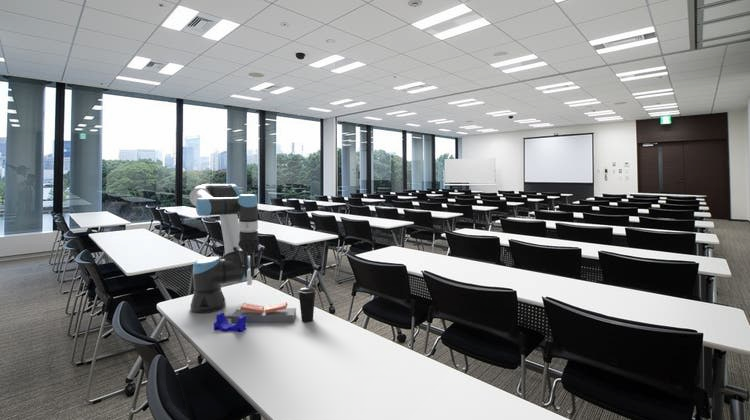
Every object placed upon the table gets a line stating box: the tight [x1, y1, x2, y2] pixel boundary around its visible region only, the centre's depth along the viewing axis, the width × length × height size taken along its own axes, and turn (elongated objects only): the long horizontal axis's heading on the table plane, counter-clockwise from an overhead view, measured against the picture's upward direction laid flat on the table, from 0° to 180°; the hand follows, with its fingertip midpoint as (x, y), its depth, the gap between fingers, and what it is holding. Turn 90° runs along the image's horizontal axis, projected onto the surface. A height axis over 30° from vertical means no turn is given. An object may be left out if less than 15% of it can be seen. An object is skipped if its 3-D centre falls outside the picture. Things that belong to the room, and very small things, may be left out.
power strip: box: [225, 307, 297, 324], centre depth 157 cm, size 31×8×3 cm, turn 94°
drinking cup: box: [297, 275, 317, 323], centre depth 156 cm, size 8×8×20 cm
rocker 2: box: [264, 301, 288, 313], centre depth 157 cm, size 9×4×2 cm, turn 93°
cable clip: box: [213, 311, 247, 333], centre depth 147 cm, size 12×4×6 cm, turn 73°
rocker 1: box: [240, 302, 265, 313], centre depth 157 cm, size 9×4×2 cm, turn 96°
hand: (249, 283), depth 156 cm, fingers closed
